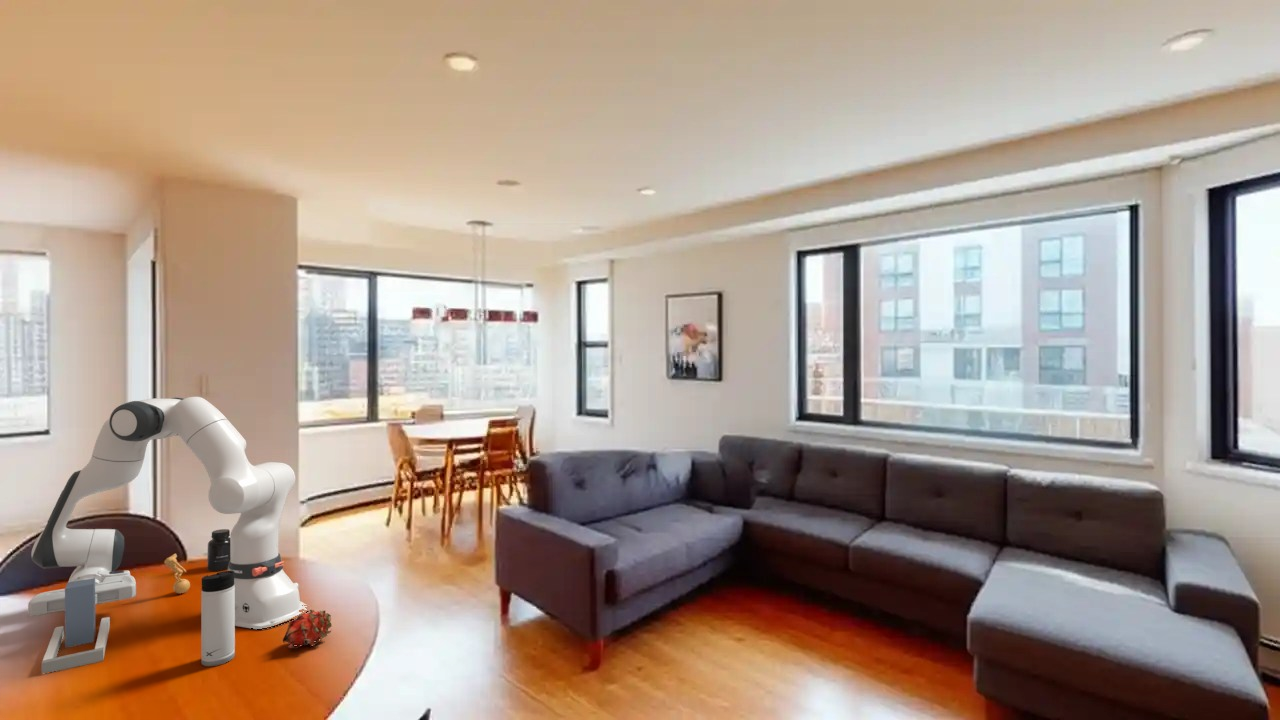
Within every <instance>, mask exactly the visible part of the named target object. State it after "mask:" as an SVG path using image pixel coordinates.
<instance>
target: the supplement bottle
mask: <svg viewBox="0 0 1280 720" xmlns="http://www.w3.org/2000/svg"><path fill="white" fill-rule="evenodd" d="M230 535H231V531H230V529H227V528H224V529H223V528H222V529H217V530H213V531H211V536H210V538H211V539H210V540H209V541H208V543H207V553H206V554H207V557H206V558H207V563H206V564H207V566H206V567H207V570H208V571H210V572H222V571H226V570H228V565H229V561H230ZM225 569H226V570H225ZM221 570H222V571H221Z"/></svg>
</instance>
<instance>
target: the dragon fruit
mask: <svg viewBox="0 0 1280 720" xmlns="http://www.w3.org/2000/svg"><path fill="white" fill-rule="evenodd" d="M331 616H332V614H329V613H326V610H319V611H315V610H313V609H311V608H310V610H309V612H307V613H303V614H300V615H298V617H297V618H296V619H294V620H292V621H289V622H288V626H287V630H286V631H285V634H284V636H283V638H282V643H283V644H285V643H288V646H287V648H288V649H290V648H293V649H299V648H298V647H300V645H304V646H307V645H309V646H310V645H311V646H312V645H314V646H315V645H316V644H318V643H319V642H320V641H319V639H320V638H321V639H323V638H326V637H327V636H328V634H331V633H332V630H329V629H330V628H331V627H332V623H331V621H332V617H331ZM314 641H316V642H314ZM318 641H319V642H318ZM294 645H297V646H294ZM311 646H310V647H311Z"/></svg>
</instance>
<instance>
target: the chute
mask: <svg viewBox="0 0 1280 720" xmlns="http://www.w3.org/2000/svg"><path fill="white" fill-rule="evenodd" d="M110 620H111V618H110V616H107V617H101V621H100V625H99V629H98V633H97V639H96V643H95V646H94V649H89V650H85V651H79V652H76V653H71V654H65V655H63V656H62V655H61V656H58V655H57V654H59V652H60V649H59V648H61V646H60V645H62V643H61V642H63V640H62V639H64V638H65V625H60V626H56V627H55V628H54V630H53V632H52V636H51V638H50V641H49V643H48V646H47V647H46V648H47V649H46V650H45V651H46V652H45V653H44V656H43V659H42V661H41V675H42V674H43V673H47V674H49V673H48V672H52V673H55V672H54V671H56V672H60V671H64V670H69V669H73V668H78V667H81V666H88V665H91V664H96V663H99V662H103V661H104V658H105V653H106V648H107V641H108V638H109V632H110V626H111V625H110V623H111V621H110ZM58 651H59V652H58ZM59 670H60V671H59ZM43 675H44V674H43Z"/></svg>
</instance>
